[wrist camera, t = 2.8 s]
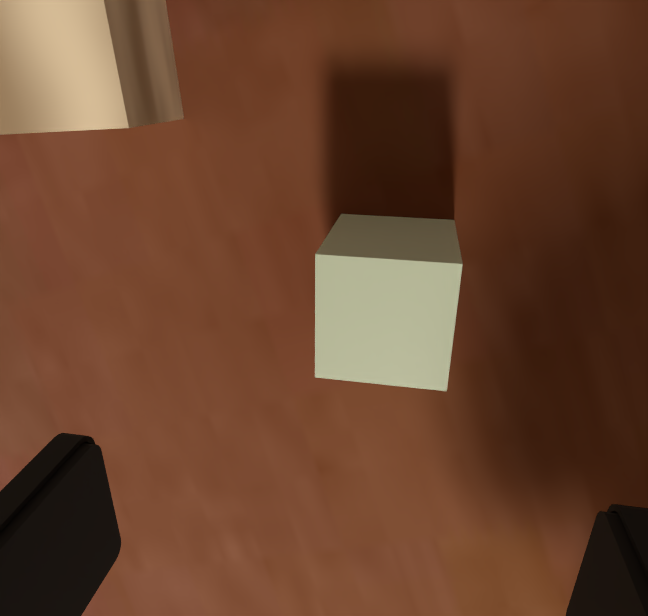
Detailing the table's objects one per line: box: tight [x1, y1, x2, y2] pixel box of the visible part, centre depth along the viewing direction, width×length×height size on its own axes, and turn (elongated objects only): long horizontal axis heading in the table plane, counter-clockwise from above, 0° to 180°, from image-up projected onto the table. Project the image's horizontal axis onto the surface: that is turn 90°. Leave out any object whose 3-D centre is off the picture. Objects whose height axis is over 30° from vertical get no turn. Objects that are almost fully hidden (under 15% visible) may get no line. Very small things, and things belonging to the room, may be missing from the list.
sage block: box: [315, 214, 463, 391], centre depth 21 cm, size 5×5×6 cm
